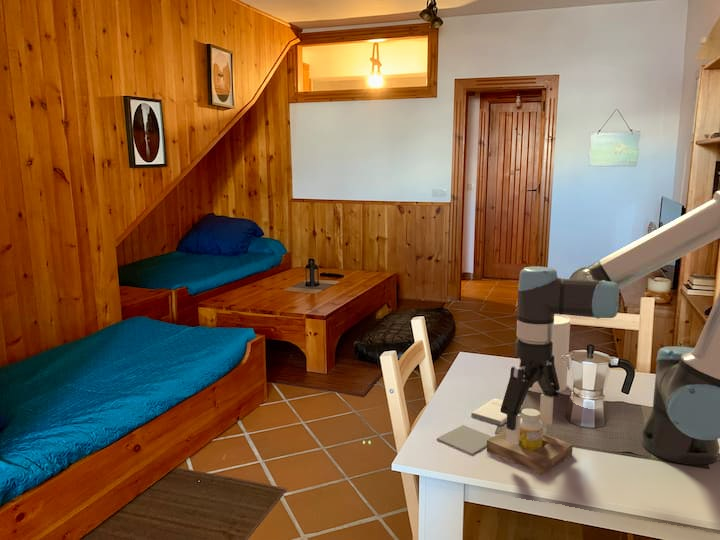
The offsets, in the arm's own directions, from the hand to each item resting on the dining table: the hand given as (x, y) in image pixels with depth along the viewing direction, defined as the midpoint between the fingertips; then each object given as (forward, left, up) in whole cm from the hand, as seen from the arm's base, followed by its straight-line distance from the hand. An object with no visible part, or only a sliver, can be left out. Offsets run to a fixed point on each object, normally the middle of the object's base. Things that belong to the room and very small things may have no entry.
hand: (529, 432), depth 124 cm
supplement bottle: (0, 0, -5) cm, 5 cm away
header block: (0, 0, -5) cm, 5 cm away
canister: (+19, -39, -5) cm, 44 cm away
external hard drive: (+17, -13, -6) cm, 22 cm away
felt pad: (+13, +5, -5) cm, 15 cm away
